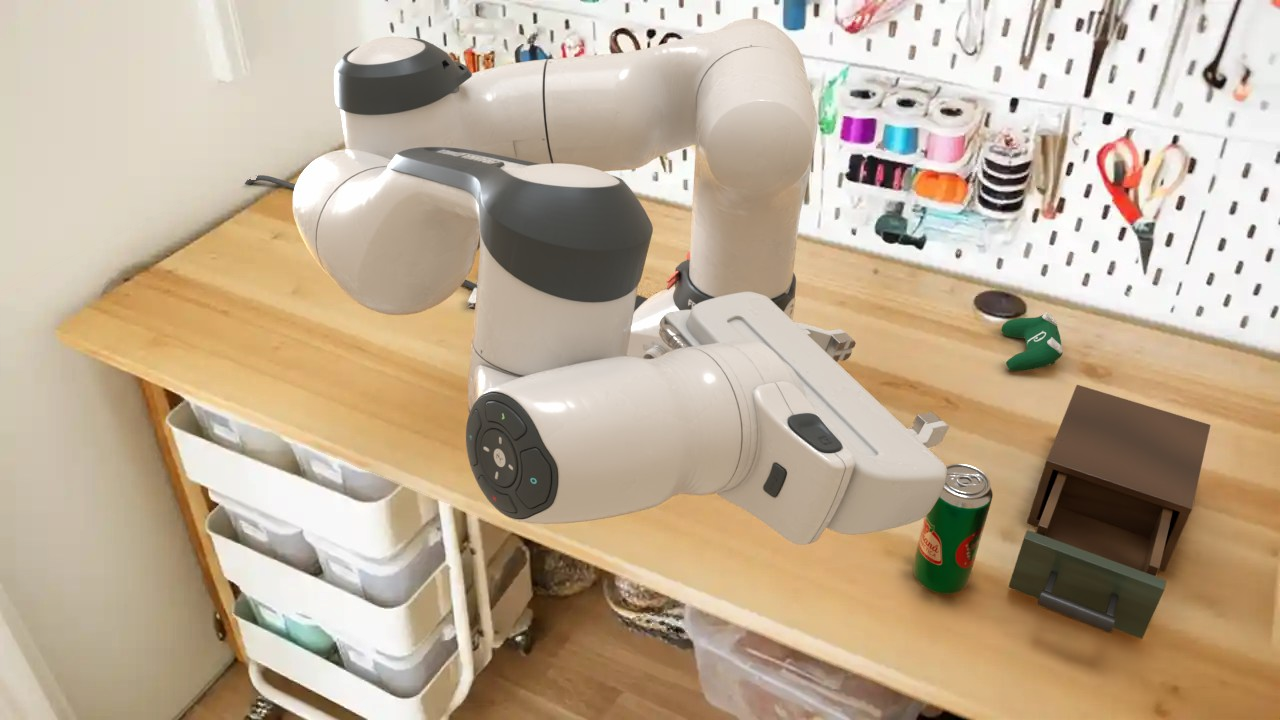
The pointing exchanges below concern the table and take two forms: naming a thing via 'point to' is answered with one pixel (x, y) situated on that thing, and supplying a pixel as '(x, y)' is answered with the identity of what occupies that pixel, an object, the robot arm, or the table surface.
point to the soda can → (953, 530)
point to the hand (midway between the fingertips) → (890, 384)
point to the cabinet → (1128, 455)
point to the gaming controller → (1034, 342)
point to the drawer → (1095, 556)
